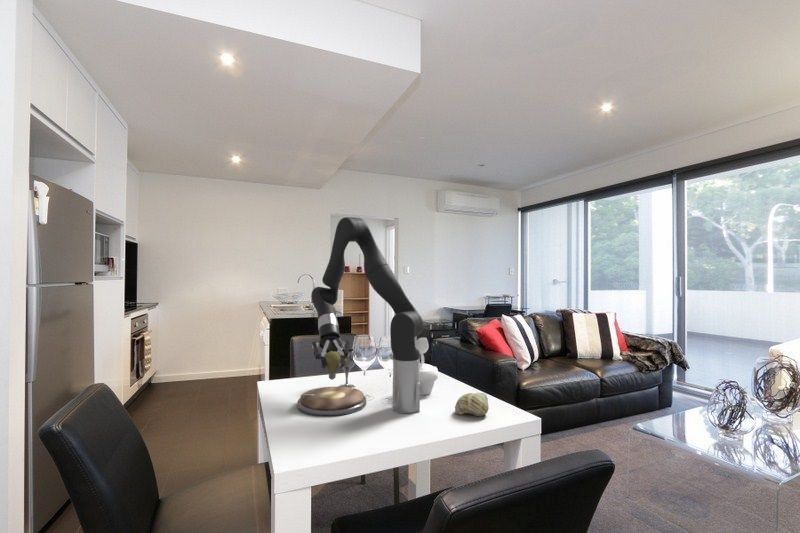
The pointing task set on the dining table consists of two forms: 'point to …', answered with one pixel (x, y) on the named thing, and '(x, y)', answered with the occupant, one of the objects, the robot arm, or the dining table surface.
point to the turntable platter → (331, 398)
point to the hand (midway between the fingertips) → (333, 367)
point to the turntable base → (331, 412)
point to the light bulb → (332, 363)
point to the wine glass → (348, 367)
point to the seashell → (472, 404)
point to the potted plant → (426, 369)
